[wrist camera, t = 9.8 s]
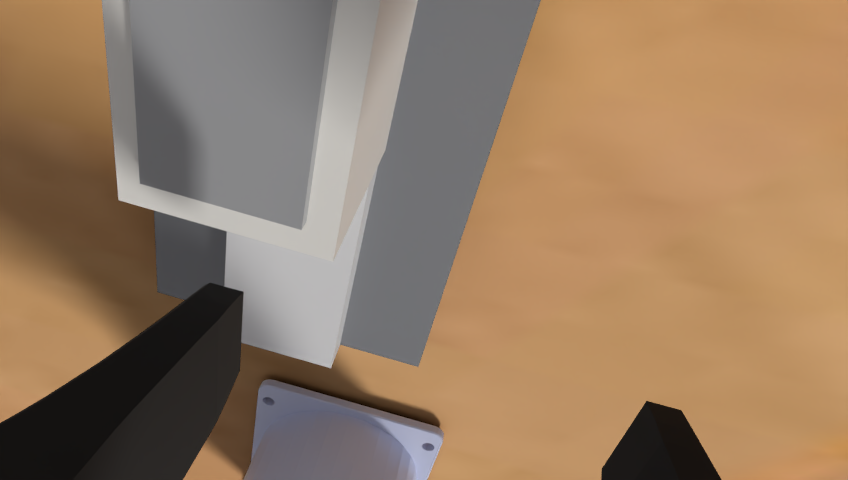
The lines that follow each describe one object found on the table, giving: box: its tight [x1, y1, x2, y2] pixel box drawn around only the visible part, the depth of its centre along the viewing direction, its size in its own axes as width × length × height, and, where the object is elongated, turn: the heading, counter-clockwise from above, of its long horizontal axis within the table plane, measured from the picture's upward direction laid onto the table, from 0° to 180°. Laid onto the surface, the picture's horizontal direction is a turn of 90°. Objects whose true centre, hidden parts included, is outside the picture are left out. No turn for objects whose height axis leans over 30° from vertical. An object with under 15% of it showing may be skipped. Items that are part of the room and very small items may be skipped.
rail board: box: [154, 0, 541, 368], centre depth 16 cm, size 20×10×5 cm, turn 167°
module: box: [102, 0, 418, 262], centre depth 13 cm, size 6×4×5 cm
